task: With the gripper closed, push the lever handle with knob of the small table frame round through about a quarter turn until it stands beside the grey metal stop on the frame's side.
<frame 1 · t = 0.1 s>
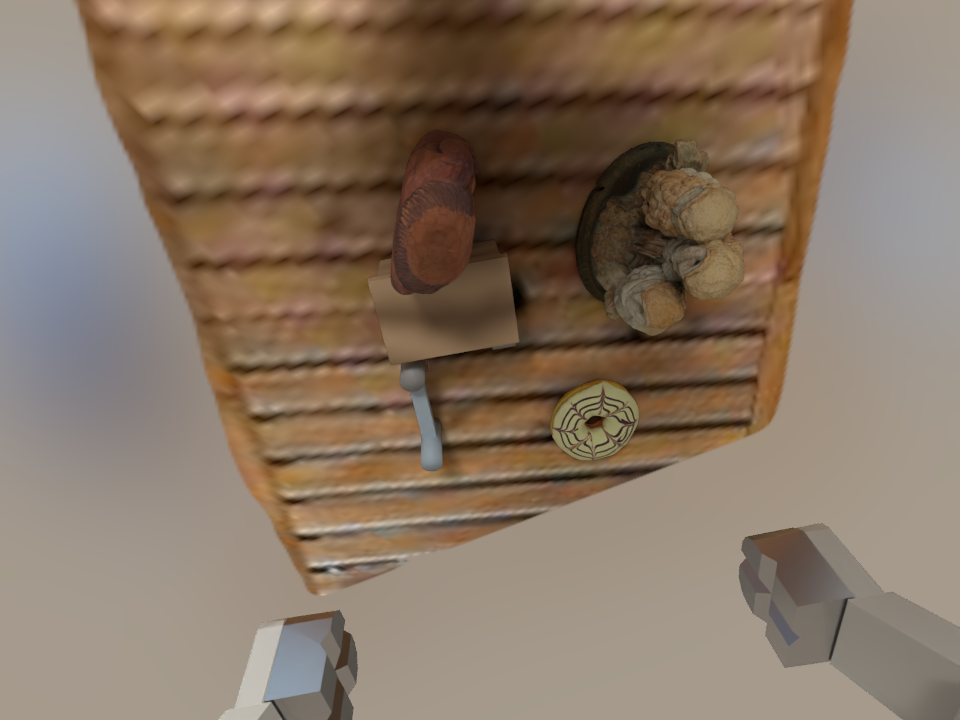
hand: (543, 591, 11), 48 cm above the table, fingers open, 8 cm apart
lever handle with knob: (422, 408, 62), point 4 cm above the table, hinge at 0.0°
decorated donut: (590, 410, 69), on the table
wooden figurine: (435, 188, 54), on the table
table frame: (444, 285, 59), on the table
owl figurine: (633, 221, 57), on the table
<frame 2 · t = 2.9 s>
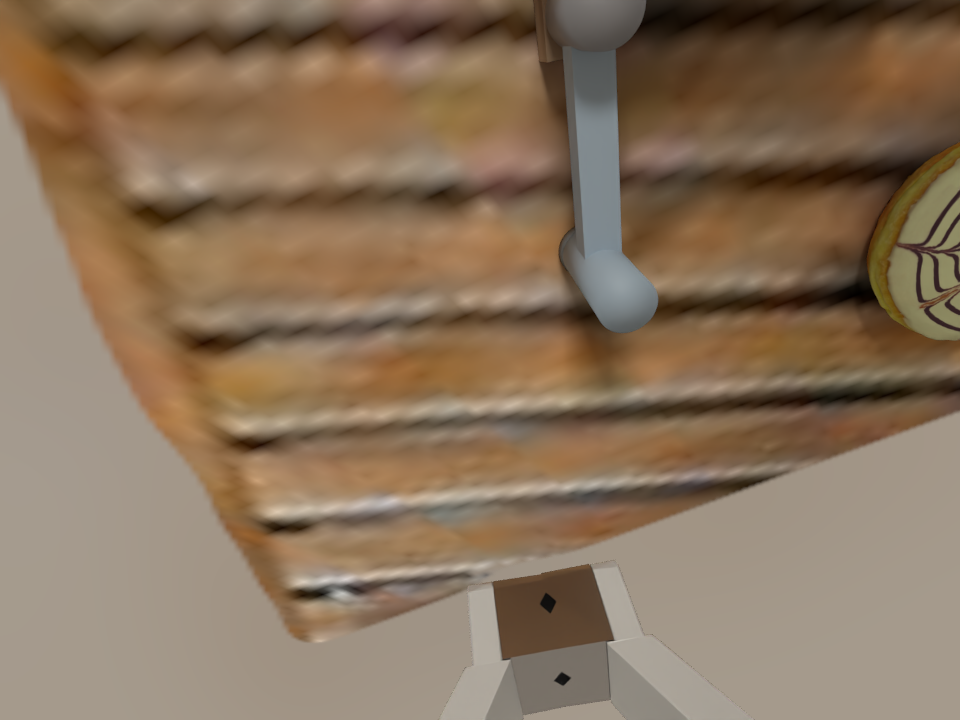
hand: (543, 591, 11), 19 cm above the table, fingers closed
lever handle with knob: (597, 155, 22), point 4 cm above the table, hinge at 0.0°
decorated donut: (950, 223, 29), on the table
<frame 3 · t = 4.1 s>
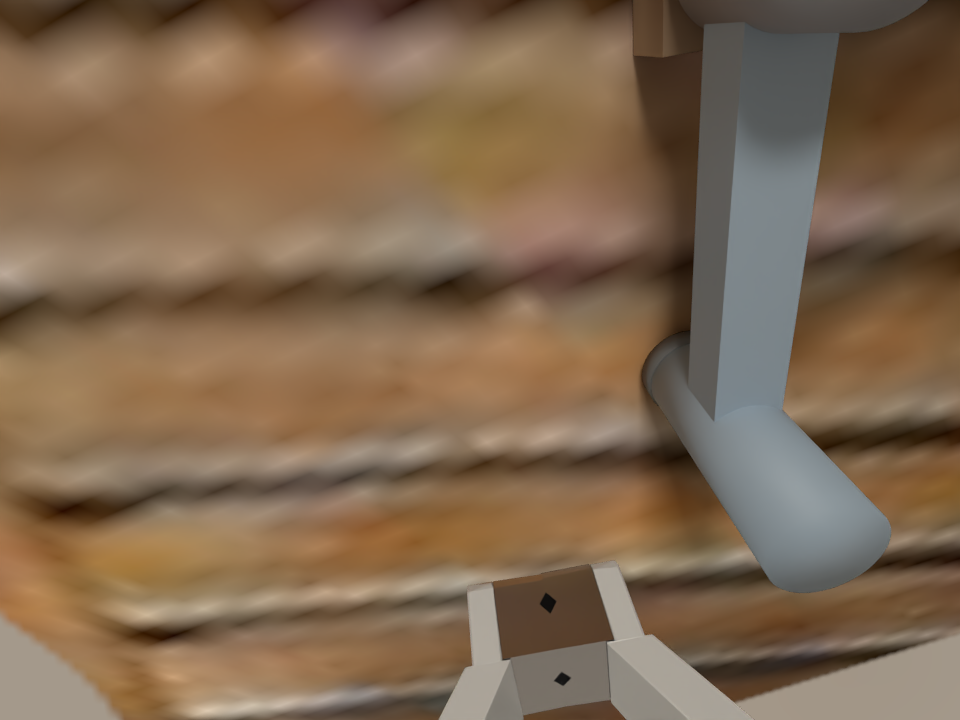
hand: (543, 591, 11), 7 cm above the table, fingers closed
lever handle with knob: (760, 244, 11), point 4 cm above the table, hinge at 0.0°
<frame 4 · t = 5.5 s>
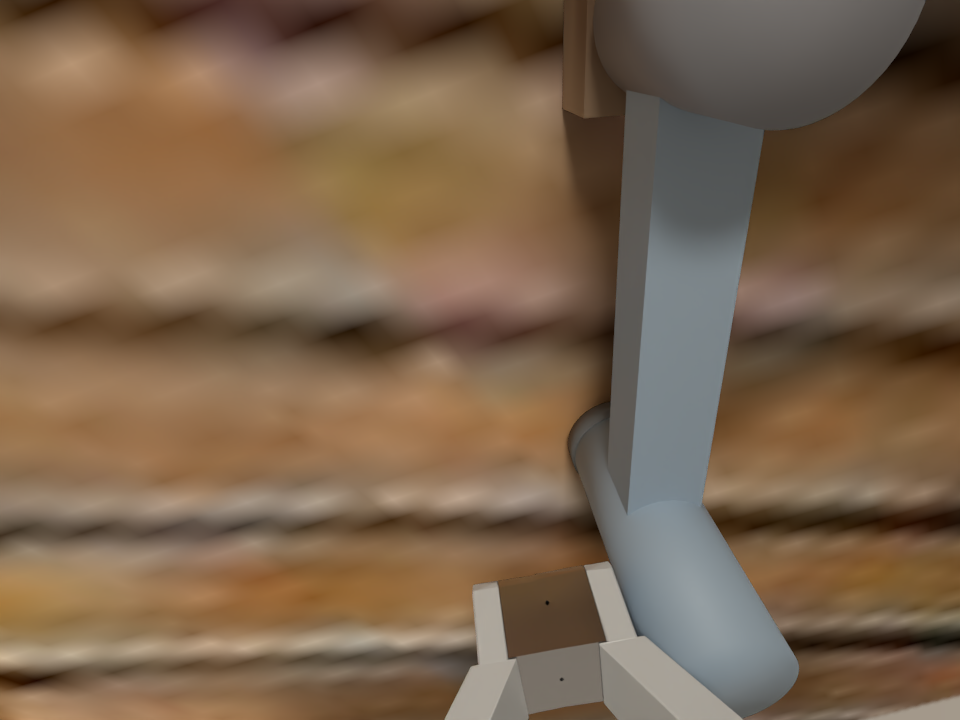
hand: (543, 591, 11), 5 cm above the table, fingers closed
lever handle with knob: (679, 334, 10), point 4 cm above the table, hinge at 1.0°, touching gripper
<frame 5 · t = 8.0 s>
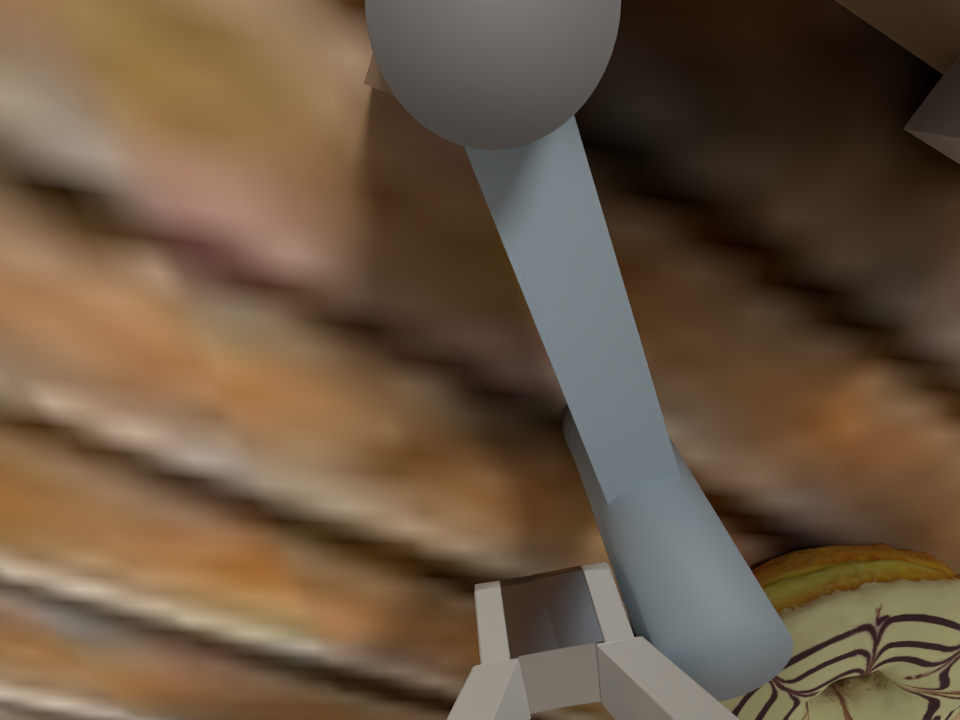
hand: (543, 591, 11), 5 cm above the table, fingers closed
lever handle with knob: (585, 326, 10), point 4 cm above the table, hinge at 46.9°, touching gripper
decorated donut: (795, 613, 22), on the table
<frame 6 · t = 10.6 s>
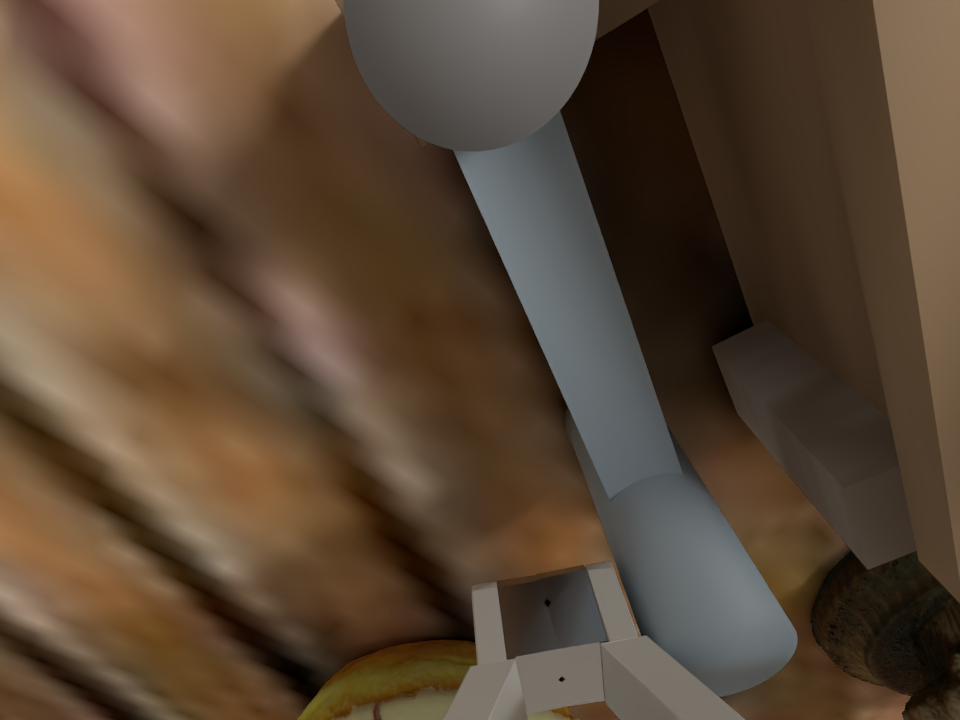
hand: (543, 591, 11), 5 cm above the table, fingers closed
lever handle with knob: (580, 323, 10), point 4 cm above the table, hinge at 84.8°, touching gripper
decorated donut: (434, 698, 22), on the table
table frame: (880, 70, 12), on the table
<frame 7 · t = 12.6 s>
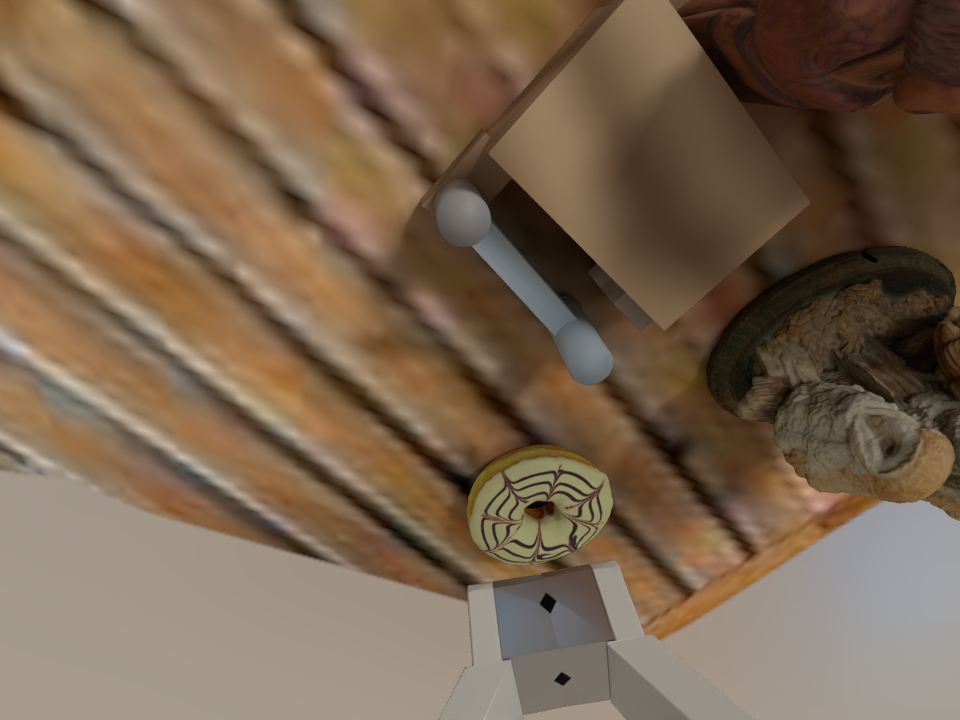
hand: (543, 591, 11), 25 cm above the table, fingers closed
lever handle with knob: (521, 277, 30), point 4 cm above the table, hinge at 84.8°
decorated donut: (533, 487, 43), on the table
wooden figurine: (764, 21, 29), on the table
table frame: (610, 155, 31), on the table
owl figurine: (825, 330, 39), on the table
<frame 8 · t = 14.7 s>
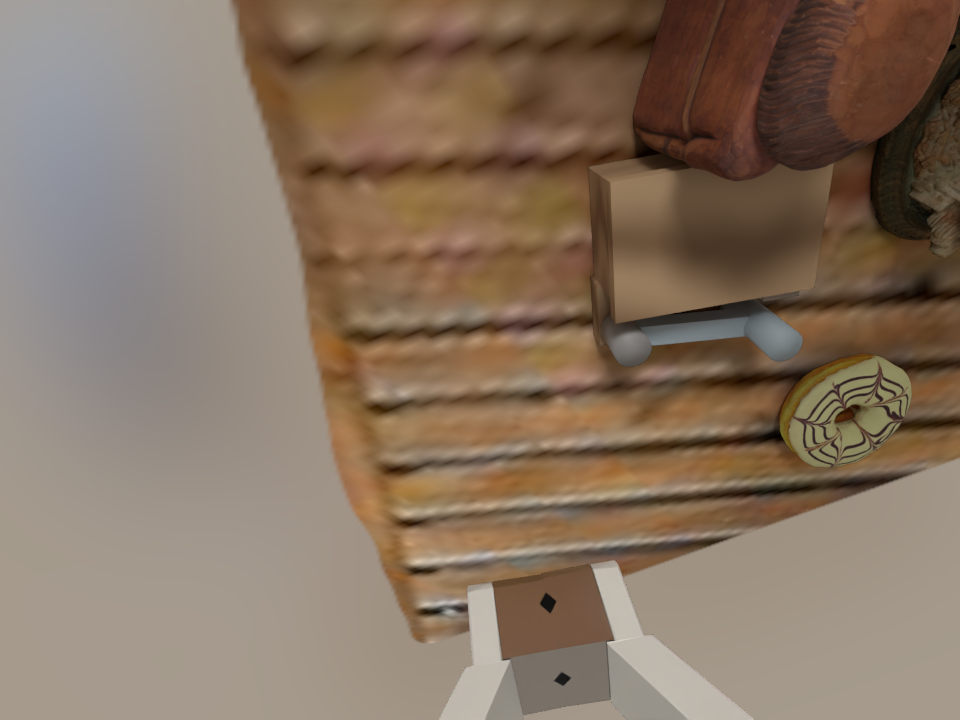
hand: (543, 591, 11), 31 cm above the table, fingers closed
lever handle with knob: (691, 330, 40), point 4 cm above the table, hinge at 84.8°
decorated donut: (828, 398, 50), on the table
wooden figurine: (691, 48, 35), on the table
table frame: (674, 209, 39), on the table
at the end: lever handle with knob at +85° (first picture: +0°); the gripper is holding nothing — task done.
